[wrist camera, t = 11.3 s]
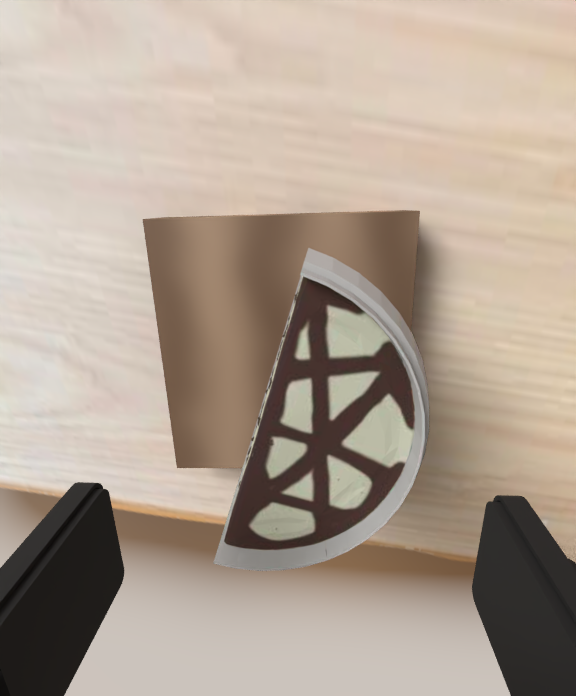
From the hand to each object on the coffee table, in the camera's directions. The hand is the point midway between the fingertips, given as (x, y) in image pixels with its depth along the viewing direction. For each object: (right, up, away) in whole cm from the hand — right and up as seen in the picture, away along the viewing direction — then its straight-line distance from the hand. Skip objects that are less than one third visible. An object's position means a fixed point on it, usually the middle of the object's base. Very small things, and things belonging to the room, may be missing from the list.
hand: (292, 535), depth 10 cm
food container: (+2, +4, +13) cm, 14 cm away
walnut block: (0, +6, +17) cm, 18 cm away
